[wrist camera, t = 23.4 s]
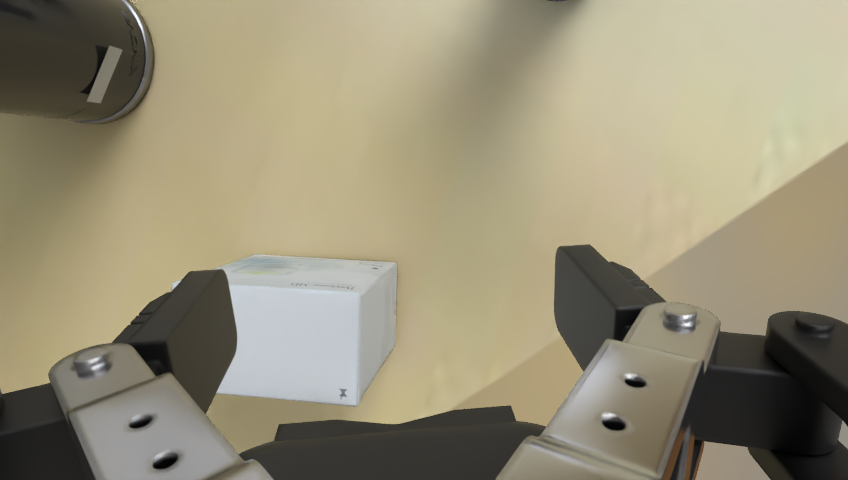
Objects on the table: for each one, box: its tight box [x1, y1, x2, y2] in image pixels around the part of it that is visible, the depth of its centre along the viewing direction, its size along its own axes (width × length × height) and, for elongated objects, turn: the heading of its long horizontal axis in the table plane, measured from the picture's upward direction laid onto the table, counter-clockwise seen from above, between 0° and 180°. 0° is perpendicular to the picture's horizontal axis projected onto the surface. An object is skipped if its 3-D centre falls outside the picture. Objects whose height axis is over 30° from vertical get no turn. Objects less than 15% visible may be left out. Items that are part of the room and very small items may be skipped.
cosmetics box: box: [172, 254, 397, 407], centre depth 34 cm, size 10×6×10 cm, turn 88°
